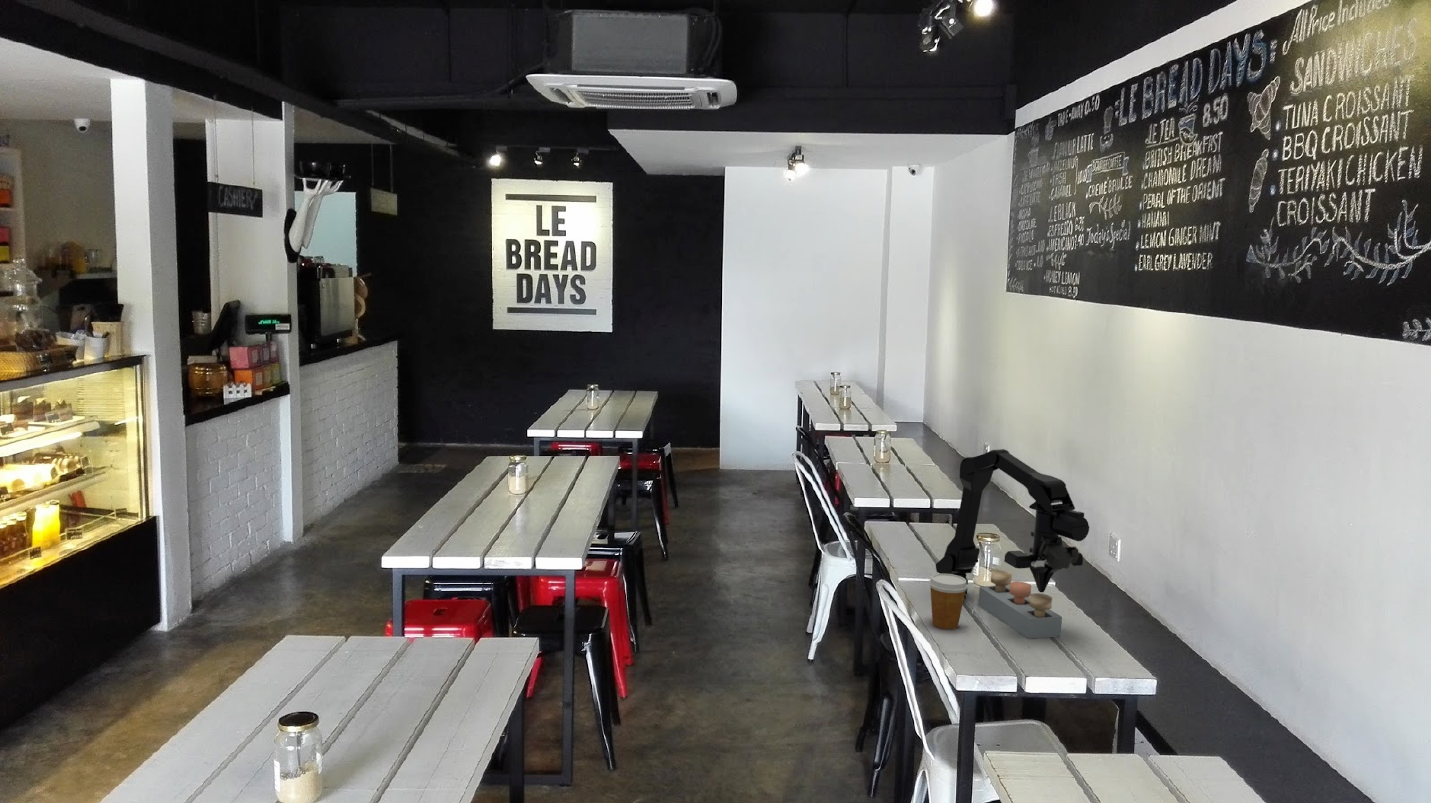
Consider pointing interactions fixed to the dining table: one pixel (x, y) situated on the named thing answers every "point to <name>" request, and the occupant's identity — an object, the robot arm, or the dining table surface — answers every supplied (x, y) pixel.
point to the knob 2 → (1040, 604)
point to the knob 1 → (1000, 580)
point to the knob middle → (1020, 591)
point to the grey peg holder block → (1019, 614)
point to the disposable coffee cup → (947, 599)
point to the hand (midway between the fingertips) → (1041, 591)
